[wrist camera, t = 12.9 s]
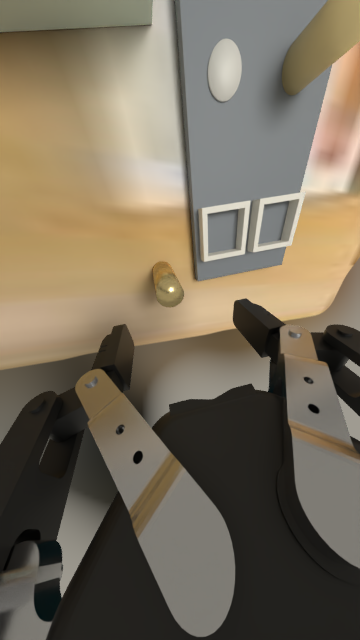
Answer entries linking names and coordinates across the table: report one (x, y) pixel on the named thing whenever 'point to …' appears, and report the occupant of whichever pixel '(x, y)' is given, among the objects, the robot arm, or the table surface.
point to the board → (253, 119)
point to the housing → (72, 14)
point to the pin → (167, 285)
